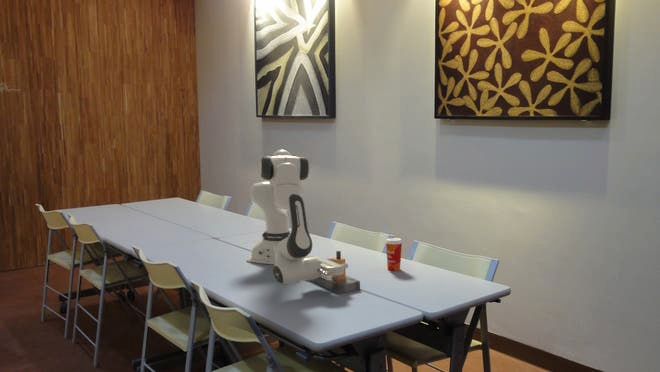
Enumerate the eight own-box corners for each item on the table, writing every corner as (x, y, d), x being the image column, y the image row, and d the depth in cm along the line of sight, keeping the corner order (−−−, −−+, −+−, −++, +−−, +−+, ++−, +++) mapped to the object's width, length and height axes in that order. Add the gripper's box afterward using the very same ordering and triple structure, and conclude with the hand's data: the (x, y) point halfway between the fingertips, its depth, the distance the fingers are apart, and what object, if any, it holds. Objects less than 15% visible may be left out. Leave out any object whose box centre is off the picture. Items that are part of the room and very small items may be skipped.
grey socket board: (302, 276, 260) (302, 268, 260) (321, 272, 265) (321, 265, 265) (339, 293, 235) (339, 285, 234) (360, 289, 240) (360, 281, 240)
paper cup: (382, 268, 272) (382, 238, 270) (397, 266, 274) (397, 237, 272) (390, 272, 264) (390, 242, 263) (405, 270, 267) (405, 240, 265)
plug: (332, 286, 245) (331, 251, 243) (340, 284, 247) (339, 249, 245) (337, 288, 242) (337, 253, 240) (345, 287, 244) (345, 251, 242)
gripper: (325, 266, 227) (354, 260, 234) (299, 255, 244) (327, 250, 252) (325, 281, 228) (355, 276, 235) (299, 270, 245) (327, 265, 252)
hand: (340, 262), depth 244 cm, fingers open, 8 cm apart
